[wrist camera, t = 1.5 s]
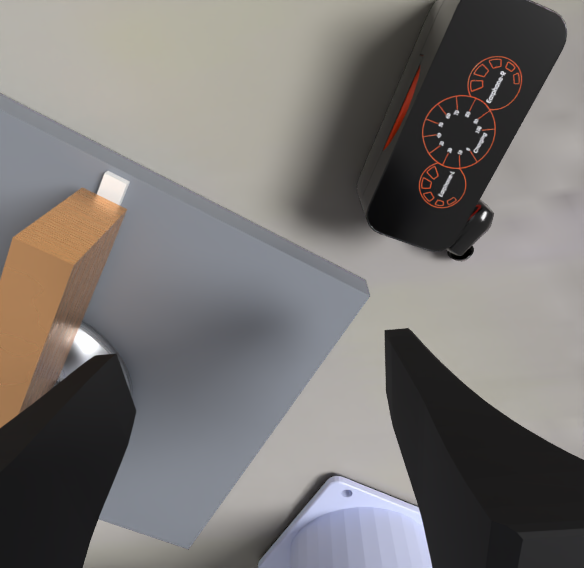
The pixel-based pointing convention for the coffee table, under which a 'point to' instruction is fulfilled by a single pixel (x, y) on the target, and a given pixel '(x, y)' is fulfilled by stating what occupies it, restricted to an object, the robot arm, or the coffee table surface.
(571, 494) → the robot arm
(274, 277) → the board
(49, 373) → the orange block with disc
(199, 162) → the coffee table surface
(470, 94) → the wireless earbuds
